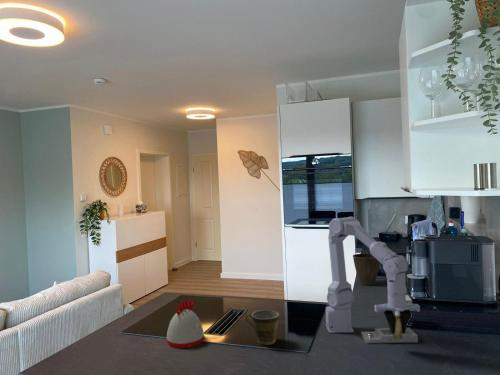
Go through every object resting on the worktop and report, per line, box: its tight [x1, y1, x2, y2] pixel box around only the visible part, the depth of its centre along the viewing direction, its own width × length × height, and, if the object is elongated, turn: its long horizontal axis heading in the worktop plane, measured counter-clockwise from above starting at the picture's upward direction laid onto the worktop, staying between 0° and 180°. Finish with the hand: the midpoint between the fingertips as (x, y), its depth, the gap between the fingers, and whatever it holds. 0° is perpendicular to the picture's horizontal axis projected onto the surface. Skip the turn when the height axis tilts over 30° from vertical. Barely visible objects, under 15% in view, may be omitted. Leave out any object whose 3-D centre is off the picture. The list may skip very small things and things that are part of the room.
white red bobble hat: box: [166, 298, 205, 349], centre depth 143 cm, size 14×14×15 cm
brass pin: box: [393, 314, 403, 339], centre depth 129 cm, size 3×3×7 cm
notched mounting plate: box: [360, 327, 419, 344], centre depth 139 cm, size 18×8×3 cm, turn 88°
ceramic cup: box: [245, 309, 280, 346], centre depth 140 cm, size 13×10×10 cm
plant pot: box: [352, 253, 381, 287], centre depth 214 cm, size 15×15×16 cm
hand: (397, 332), depth 129 cm, fingers closed on brass pin, 3 cm apart
